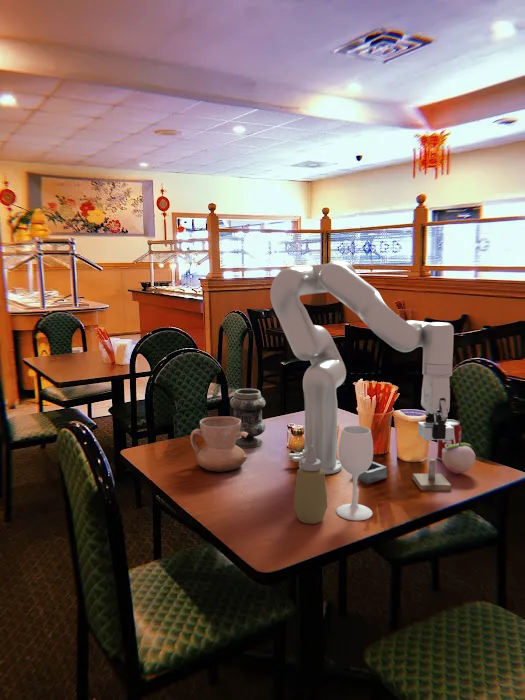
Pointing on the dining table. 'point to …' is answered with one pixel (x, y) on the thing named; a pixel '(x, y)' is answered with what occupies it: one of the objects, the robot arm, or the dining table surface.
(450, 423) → the soda can
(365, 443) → the wineglass
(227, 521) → the dining table surface
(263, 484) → the dining table surface
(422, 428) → the steel link
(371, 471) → the link
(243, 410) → the apothecary jar
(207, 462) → the ceramic jug
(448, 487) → the peg stand
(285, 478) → the dining table surface
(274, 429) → the dining table surface
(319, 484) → the squeeze bottle
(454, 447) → the decorative fruit
